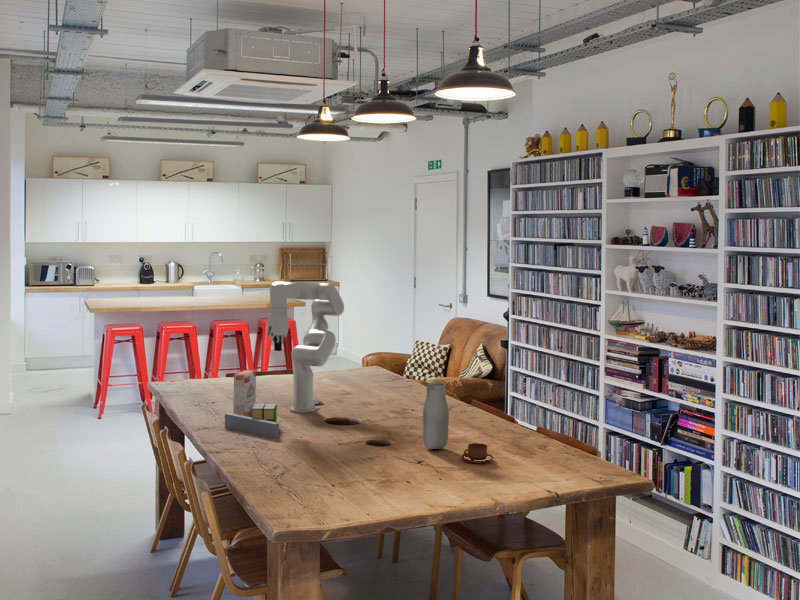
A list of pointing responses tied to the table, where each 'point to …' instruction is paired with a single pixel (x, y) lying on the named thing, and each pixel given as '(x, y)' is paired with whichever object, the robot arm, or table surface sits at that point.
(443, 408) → the glass bottle
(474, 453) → the cup and saucer
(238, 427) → the stop board
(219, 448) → the table surface
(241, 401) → the cracker box
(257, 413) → the puzzle cube
